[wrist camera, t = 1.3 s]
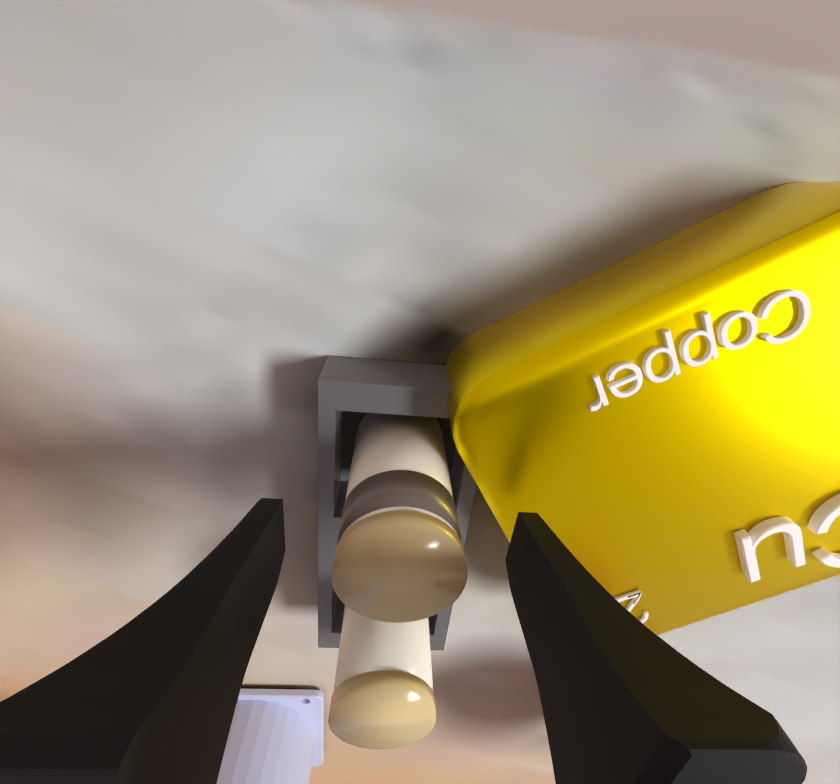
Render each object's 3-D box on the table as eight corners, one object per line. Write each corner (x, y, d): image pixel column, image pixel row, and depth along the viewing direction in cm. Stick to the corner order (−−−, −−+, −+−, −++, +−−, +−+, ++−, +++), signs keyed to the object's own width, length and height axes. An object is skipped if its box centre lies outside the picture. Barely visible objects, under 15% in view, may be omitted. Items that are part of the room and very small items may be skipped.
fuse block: (325, 605, 22) (318, 647, 20) (328, 355, 16) (317, 379, 14) (439, 609, 23) (443, 650, 21) (483, 368, 17) (495, 393, 15)
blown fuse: (353, 472, 19) (330, 620, 12) (356, 396, 17) (331, 523, 11) (437, 477, 19) (457, 624, 13) (448, 403, 17) (477, 529, 11)
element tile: (824, 156, 14) (1007, 145, 10) (843, 476, 20) (961, 555, 16) (422, 353, 17) (429, 412, 12) (548, 584, 23) (582, 678, 19)
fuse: (348, 584, 22) (327, 748, 15) (351, 529, 20) (328, 688, 14) (421, 586, 22) (430, 749, 16) (429, 532, 20) (442, 690, 14)
